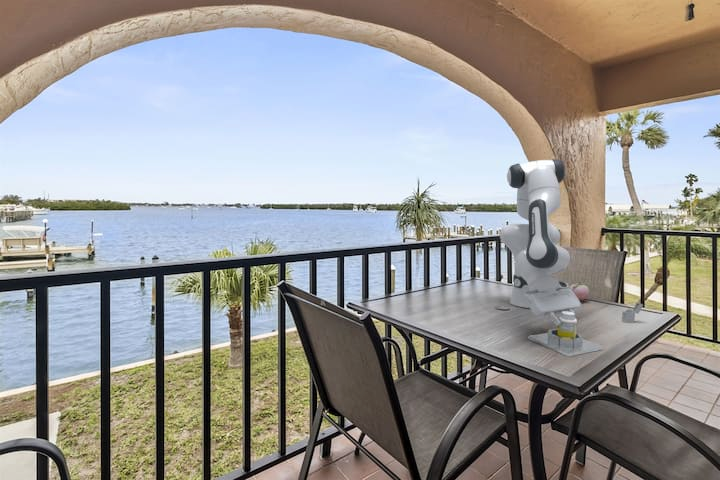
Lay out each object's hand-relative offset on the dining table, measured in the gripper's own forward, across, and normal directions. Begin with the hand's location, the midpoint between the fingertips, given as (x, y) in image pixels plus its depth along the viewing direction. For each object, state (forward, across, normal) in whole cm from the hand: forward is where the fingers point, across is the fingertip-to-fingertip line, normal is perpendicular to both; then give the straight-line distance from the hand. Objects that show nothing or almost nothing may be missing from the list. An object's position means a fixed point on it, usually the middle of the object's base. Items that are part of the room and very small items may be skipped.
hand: (567, 323), depth 120 cm
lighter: (0, +47, +11) cm, 48 cm away
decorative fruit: (-21, +55, +32) cm, 67 cm away
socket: (+5, 0, +6) cm, 8 cm away
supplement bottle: (+5, 0, +5) cm, 7 cm away
